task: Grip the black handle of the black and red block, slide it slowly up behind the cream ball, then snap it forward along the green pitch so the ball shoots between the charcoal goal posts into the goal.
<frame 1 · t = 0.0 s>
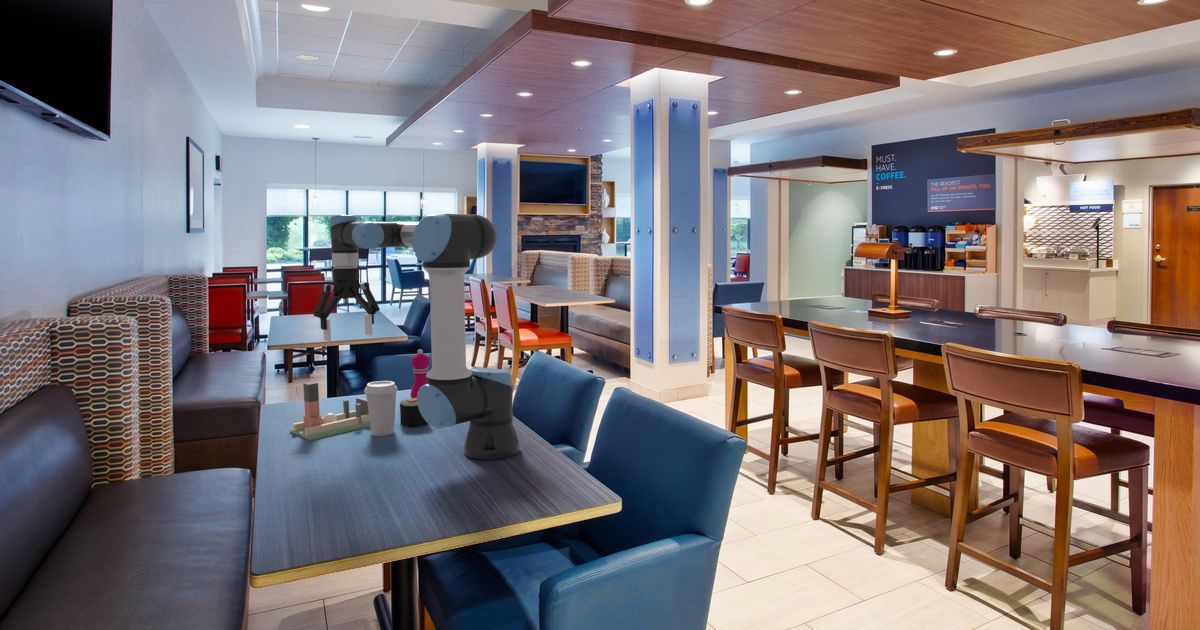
hand: (348, 337, 215), 28 cm above the table, fingers open, 13 cm apart
coffee cup: (382, 433, 214), on the table
black and red block: (311, 406, 212), point 8 cm above the table, slide at 0.0 cm
pepper mill: (421, 407, 244), on the table
pitch: (335, 428, 218), on the table
ball: (329, 419, 217), point 3 cm above the table, touching pitch
sushi: (414, 424, 223), on the table
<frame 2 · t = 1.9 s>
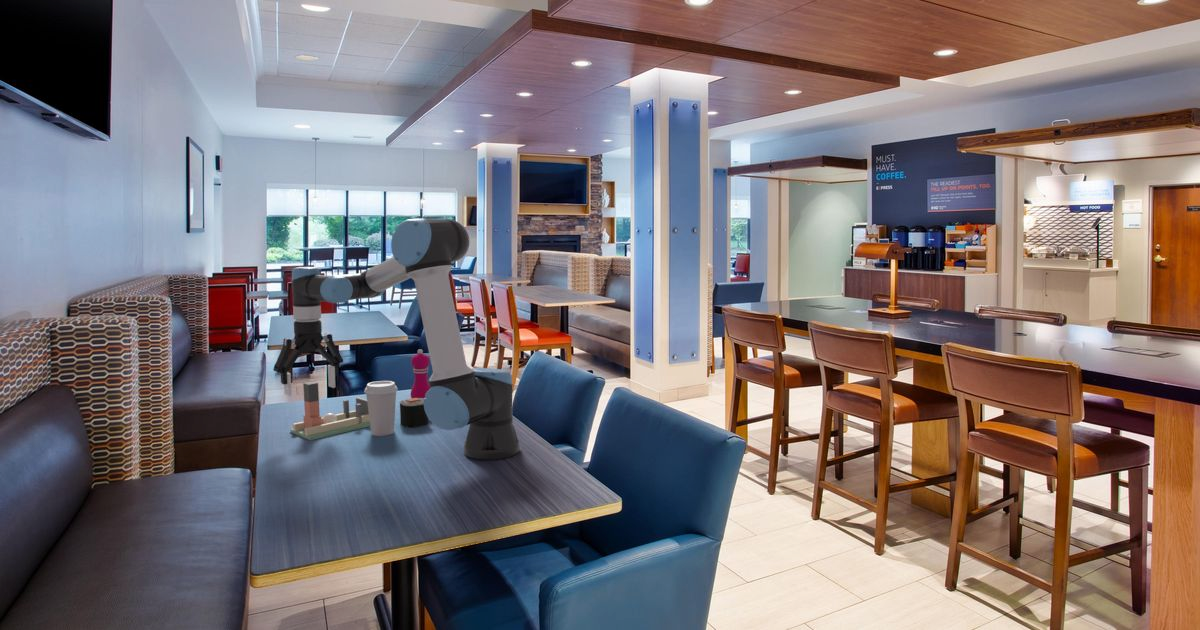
hand: (310, 390, 211), 13 cm above the table, fingers open, 13 cm apart
nothing on the table moved.
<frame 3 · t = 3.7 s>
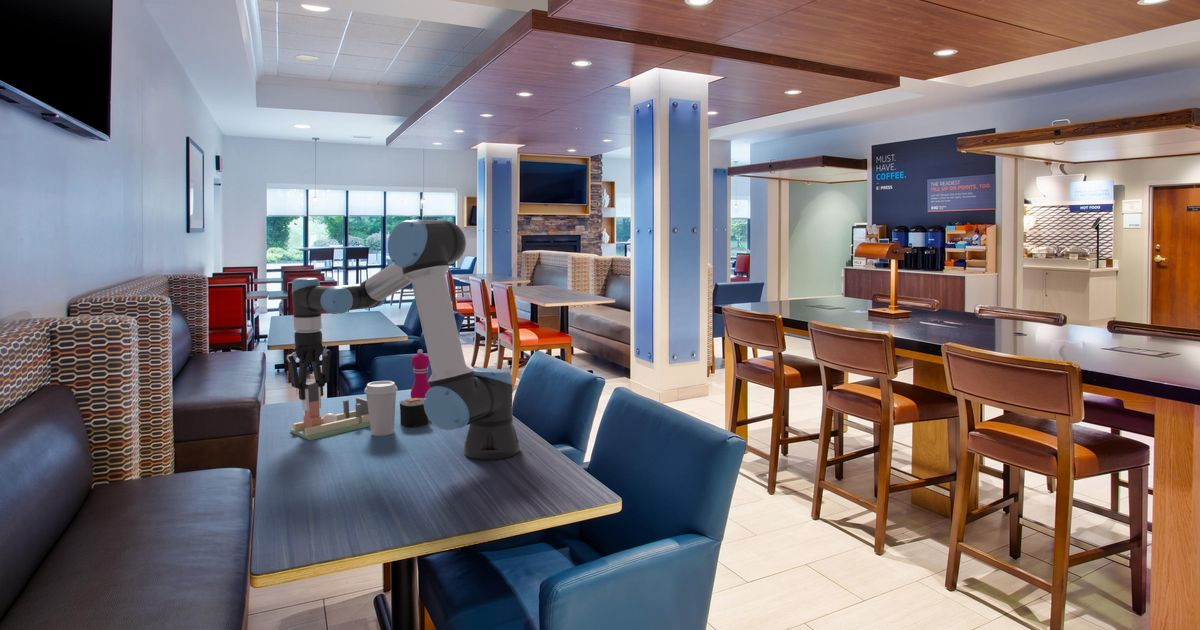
hand: (311, 408, 212), 8 cm above the table, fingers closed on black and red block, 3 cm apart
black and red block: (311, 406, 212), point 8 cm above the table, slide at 0.0 cm, touching gripper
everything else where it was.
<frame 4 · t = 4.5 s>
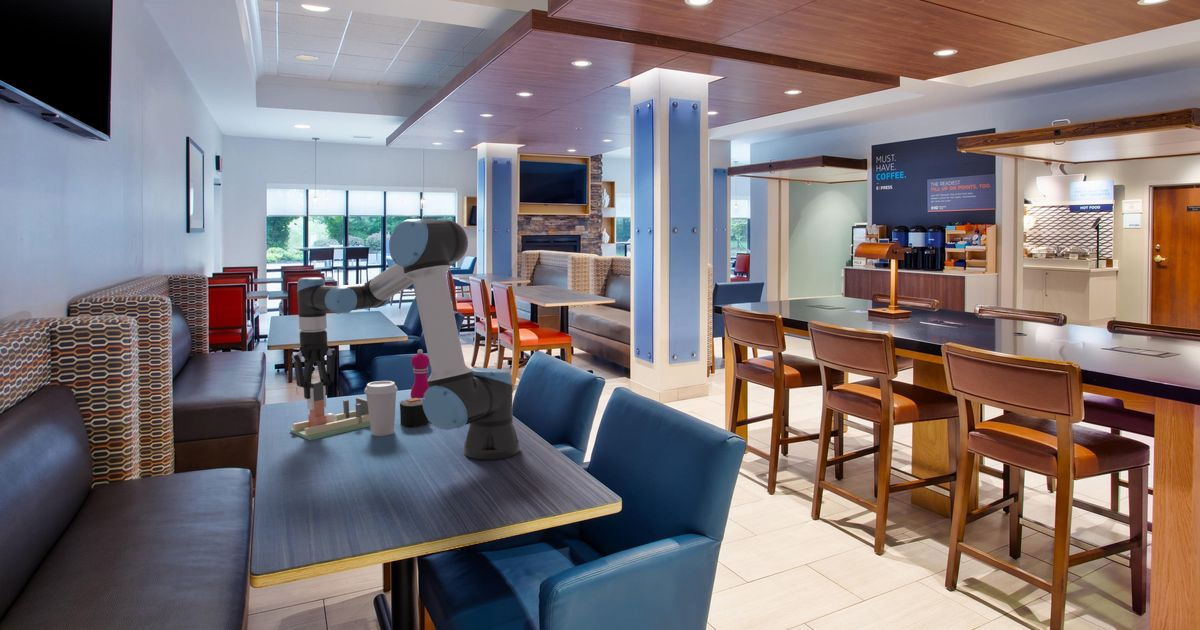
hand: (316, 407, 213), 8 cm above the table, fingers closed on black and red block, 3 cm apart
black and red block: (316, 405, 213), point 8 cm above the table, slide at 1.5 cm, touching gripper
everything else where it was.
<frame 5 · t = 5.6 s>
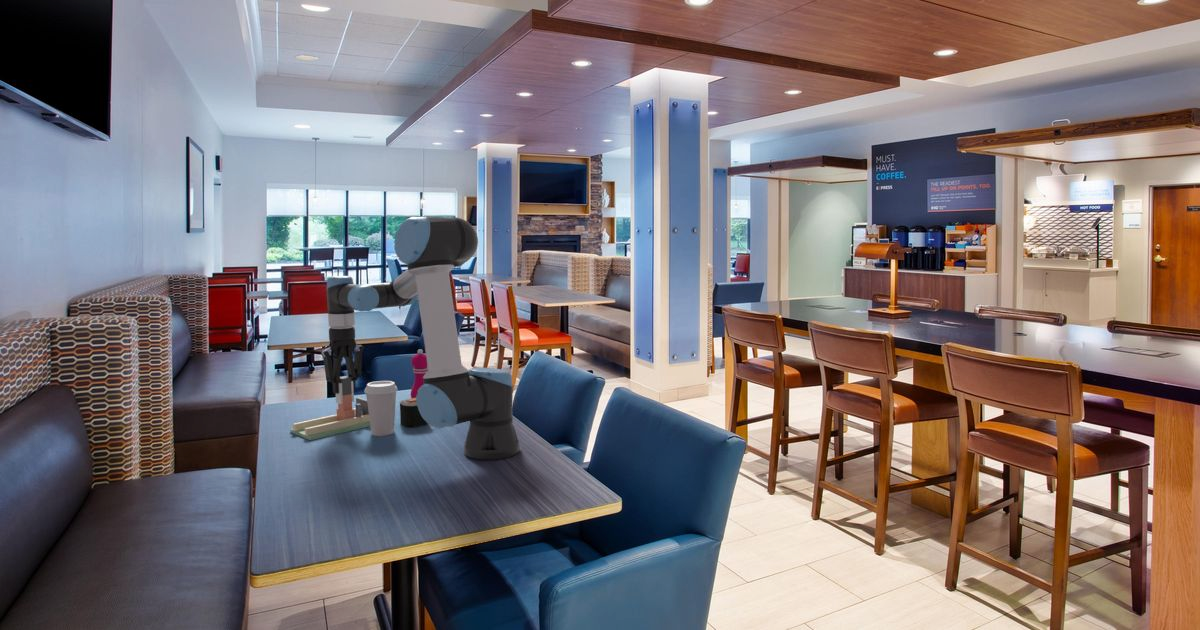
hand: (345, 402, 220), 8 cm above the table, fingers closed on black and red block, 3 cm apart
black and red block: (344, 399, 220), point 8 cm above the table, slide at 10.7 cm, touching gripper
ball: (355, 414, 223), point 3 cm above the table, tilted 118°, touching pitch
everything else where it was.
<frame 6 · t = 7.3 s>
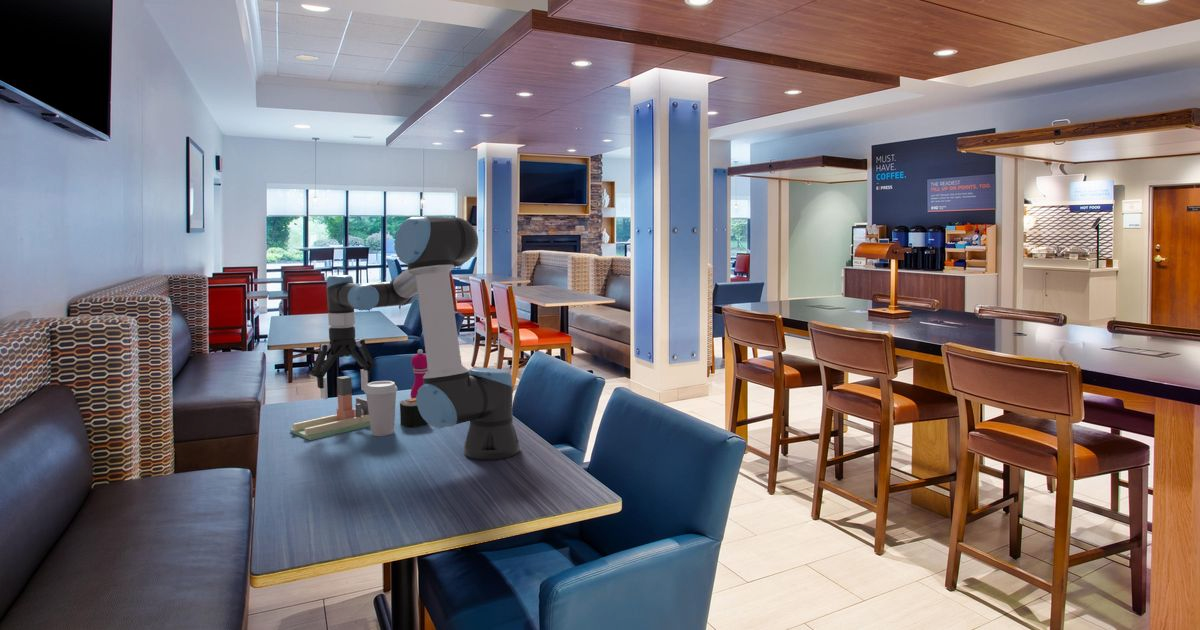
hand: (344, 394, 220), 10 cm above the table, fingers open, 13 cm apart
black and red block: (344, 399, 220), point 8 cm above the table, slide at 10.7 cm
ball: (357, 413, 224), point 3 cm above the table, tilted 103°, touching pitch
everything else where it was.
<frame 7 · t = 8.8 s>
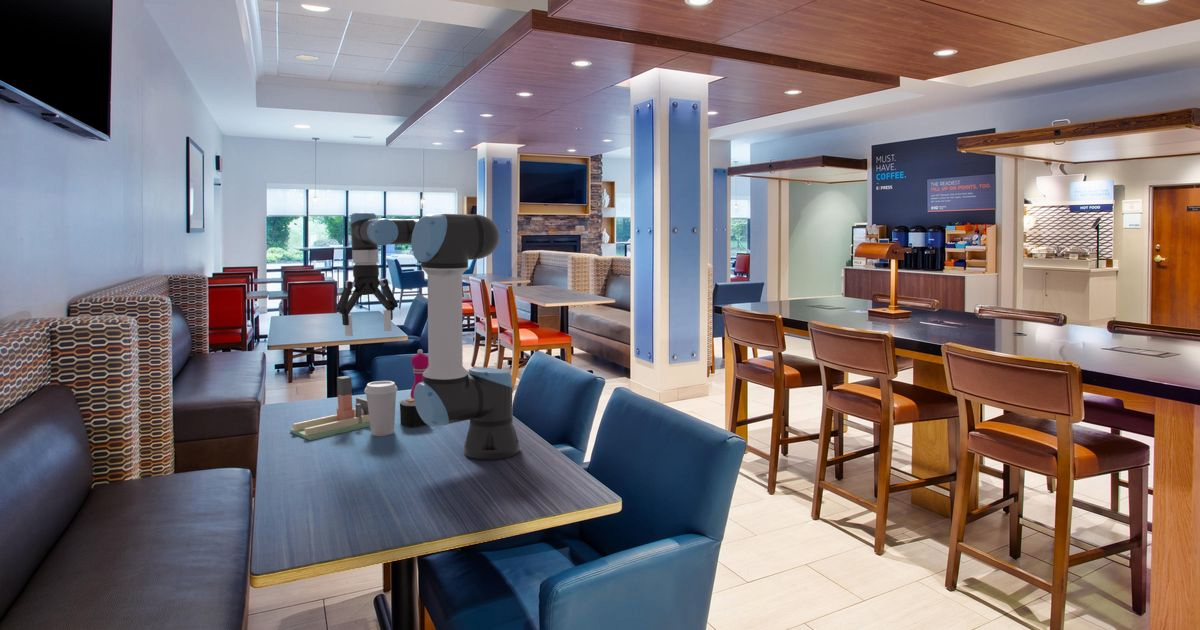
hand: (368, 333, 219), 29 cm above the table, fingers open, 13 cm apart
nothing on the table moved.
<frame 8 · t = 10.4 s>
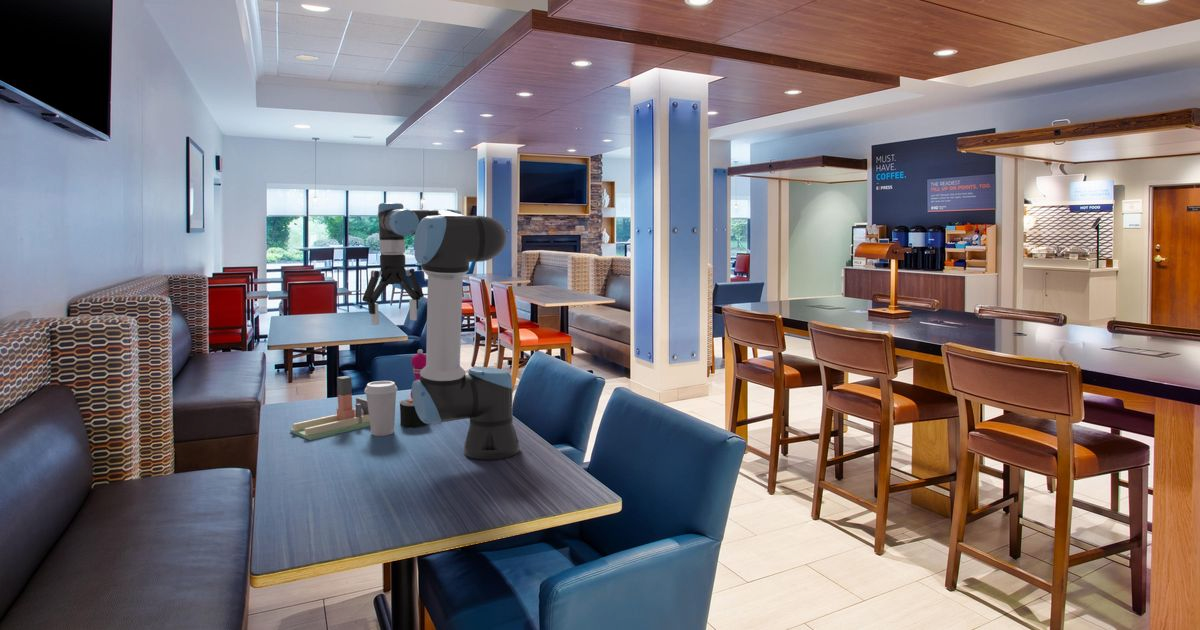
hand: (394, 322, 222), 32 cm above the table, fingers open, 13 cm apart
nothing on the table moved.
at the end: ball 0.2 cm from the target spot, point 3.0 cm above the table; black and red block slide at 10.7 cm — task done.
